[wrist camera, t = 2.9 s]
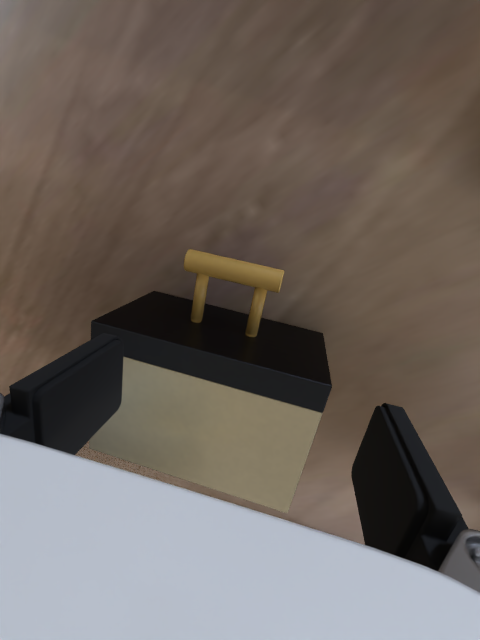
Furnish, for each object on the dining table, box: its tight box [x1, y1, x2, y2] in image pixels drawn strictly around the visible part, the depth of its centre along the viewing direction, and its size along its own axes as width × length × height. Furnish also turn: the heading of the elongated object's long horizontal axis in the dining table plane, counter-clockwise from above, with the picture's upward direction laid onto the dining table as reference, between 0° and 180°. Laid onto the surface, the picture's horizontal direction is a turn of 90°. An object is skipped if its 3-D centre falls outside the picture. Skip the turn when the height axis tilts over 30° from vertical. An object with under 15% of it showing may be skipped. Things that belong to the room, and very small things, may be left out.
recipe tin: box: [89, 249, 332, 513], centre depth 24 cm, size 16×16×9 cm
